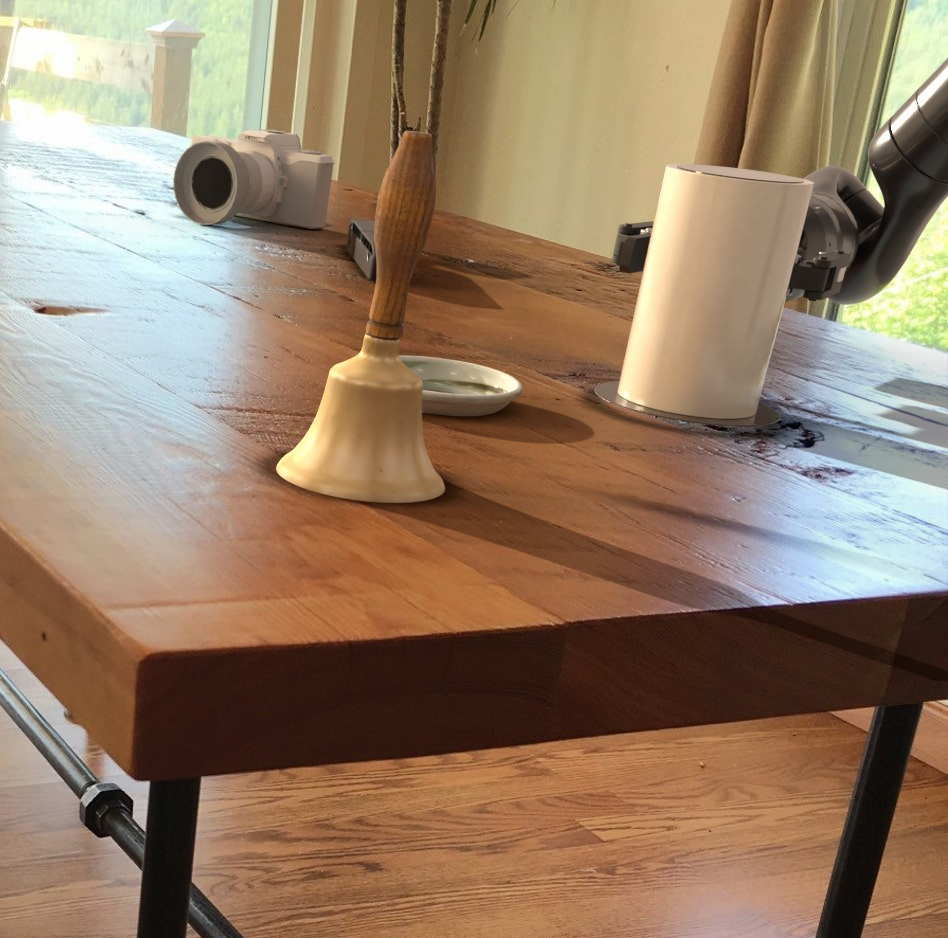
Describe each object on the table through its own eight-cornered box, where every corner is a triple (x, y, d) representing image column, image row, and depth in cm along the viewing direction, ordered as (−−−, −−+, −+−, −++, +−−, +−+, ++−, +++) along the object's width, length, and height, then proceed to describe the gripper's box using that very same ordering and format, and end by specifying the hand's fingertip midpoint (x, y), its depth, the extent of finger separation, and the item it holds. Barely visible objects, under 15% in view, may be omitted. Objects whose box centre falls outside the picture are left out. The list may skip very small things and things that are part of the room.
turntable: (773, 413, 103) (777, 398, 103) (780, 452, 94) (784, 435, 93) (595, 387, 106) (598, 371, 105) (585, 422, 96) (588, 405, 96)
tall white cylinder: (768, 425, 95) (830, 188, 90) (625, 408, 96) (677, 171, 90) (730, 380, 107) (782, 167, 101) (602, 365, 107) (647, 152, 102)
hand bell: (379, 456, 85) (430, 124, 78) (480, 504, 78) (545, 147, 71) (242, 464, 81) (282, 116, 74) (336, 515, 75) (390, 139, 68)
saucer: (317, 394, 97) (323, 353, 95) (460, 395, 100) (467, 354, 99) (396, 439, 89) (403, 394, 88) (548, 437, 92) (556, 394, 91)
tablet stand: (344, 250, 152) (349, 216, 151) (372, 252, 152) (377, 218, 151) (367, 282, 136) (372, 244, 135) (398, 285, 136) (404, 247, 135)
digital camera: (128, 247, 166) (118, 141, 163) (227, 237, 175) (220, 136, 172) (245, 236, 154) (236, 121, 151) (345, 226, 163) (339, 117, 160)
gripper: (687, 178, 118) (597, 187, 106) (891, 209, 111) (819, 222, 99) (663, 286, 121) (573, 307, 109) (859, 323, 114) (786, 349, 102)
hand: (690, 266), depth 104 cm, fingers open, 8 cm apart
